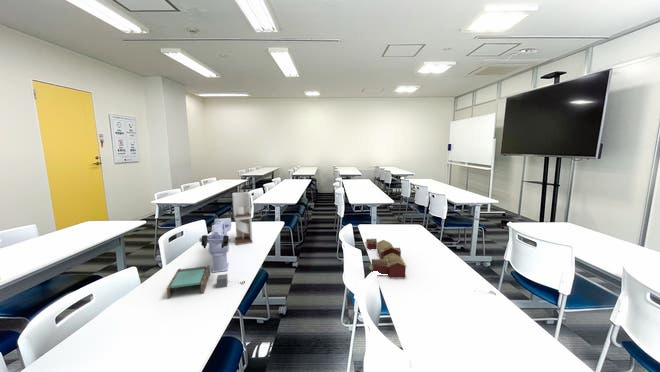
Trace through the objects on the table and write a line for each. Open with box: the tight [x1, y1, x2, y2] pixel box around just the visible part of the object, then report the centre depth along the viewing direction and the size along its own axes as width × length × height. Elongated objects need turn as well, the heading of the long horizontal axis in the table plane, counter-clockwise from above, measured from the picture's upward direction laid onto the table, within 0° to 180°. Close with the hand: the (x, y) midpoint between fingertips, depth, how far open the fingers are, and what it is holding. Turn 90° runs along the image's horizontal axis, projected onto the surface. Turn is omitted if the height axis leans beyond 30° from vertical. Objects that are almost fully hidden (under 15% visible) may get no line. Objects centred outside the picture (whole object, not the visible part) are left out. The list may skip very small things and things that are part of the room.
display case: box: [231, 191, 253, 246], centre depth 185 cm, size 11×11×35 cm
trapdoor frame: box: [166, 264, 211, 300], centre depth 128 cm, size 20×15×5 cm
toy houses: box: [364, 238, 408, 278], centre depth 157 cm, size 45×20×10 cm, turn 179°
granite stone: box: [216, 273, 229, 289], centre depth 128 cm, size 4×4×4 cm
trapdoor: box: [170, 265, 207, 289], centre depth 127 cm, size 18×12×3 cm
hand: (213, 246), depth 124 cm, fingers open, 7 cm apart
